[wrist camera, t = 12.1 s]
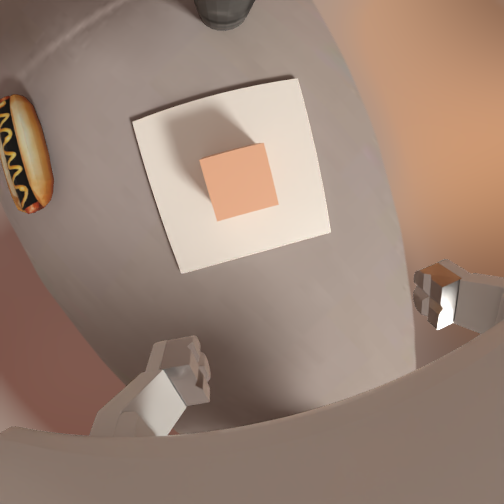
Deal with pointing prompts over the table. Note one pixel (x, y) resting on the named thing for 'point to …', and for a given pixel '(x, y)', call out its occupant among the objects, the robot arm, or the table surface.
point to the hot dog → (24, 155)
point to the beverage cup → (223, 12)
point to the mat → (223, 139)
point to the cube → (239, 181)
